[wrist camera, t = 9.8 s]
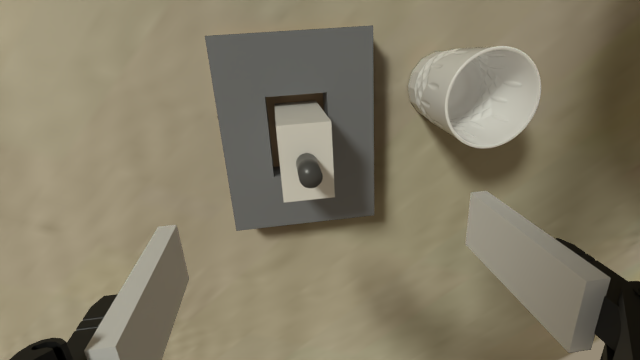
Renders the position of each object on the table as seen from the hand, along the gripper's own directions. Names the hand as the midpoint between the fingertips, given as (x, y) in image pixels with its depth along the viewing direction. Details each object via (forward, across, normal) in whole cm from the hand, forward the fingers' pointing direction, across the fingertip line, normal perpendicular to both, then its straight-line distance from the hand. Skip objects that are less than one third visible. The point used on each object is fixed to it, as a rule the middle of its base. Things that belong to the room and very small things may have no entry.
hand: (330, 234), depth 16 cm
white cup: (+23, +15, +3) cm, 28 cm away
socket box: (+23, 0, 0) cm, 23 cm away
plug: (+22, 0, 0) cm, 22 cm away
